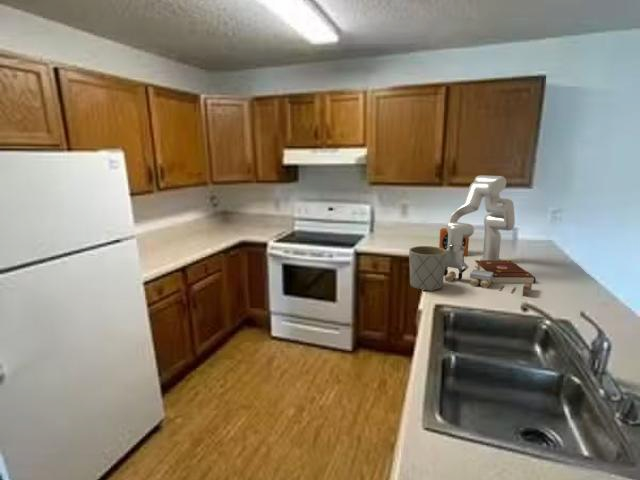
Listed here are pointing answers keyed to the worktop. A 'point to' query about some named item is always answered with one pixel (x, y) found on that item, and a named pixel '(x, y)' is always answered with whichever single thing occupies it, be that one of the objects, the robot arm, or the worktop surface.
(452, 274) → the roller
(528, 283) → the stop block
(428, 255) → the planter
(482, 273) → the slab
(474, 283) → the bed rollers
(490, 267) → the book
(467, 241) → the alarm clock
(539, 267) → the worktop surface
